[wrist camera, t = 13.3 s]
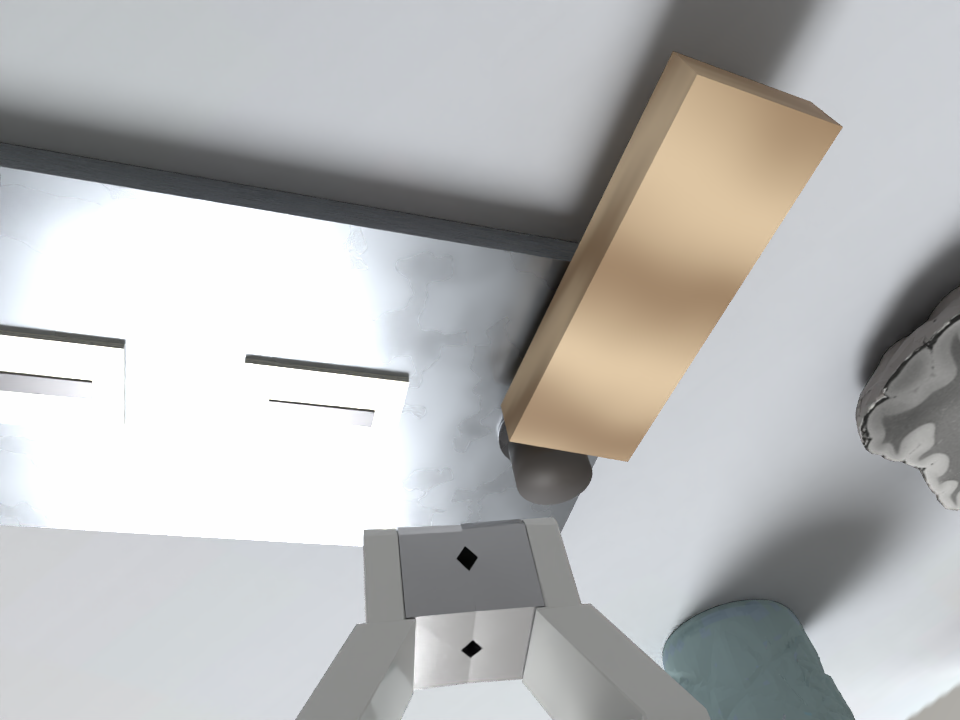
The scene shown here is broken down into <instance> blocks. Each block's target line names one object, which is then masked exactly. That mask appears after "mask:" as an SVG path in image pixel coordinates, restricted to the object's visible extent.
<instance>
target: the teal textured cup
mask: <svg viewBox="0 0 960 720" xmlns="http://www.w3.org/2000/svg"><path fill="white" fill-rule="evenodd" d="M663 665H664V669H665V672H666V673H667V674H669V675H670V676H671V677H672V678H673V679H674V680H675V681H676V682H677V683H678V684H680V685H681V686H682V687H683V688H684V689H685V690H686V691H687V692H688V693H689V694H691V695H692V696H693V697H694V698H695V699H696V700H697V701H698V702H699V703H700V704H702V705H703V706H704V707H705V708H706V709H707V712H708V714H709V717H710V719H711V720H855V718H854V716H853V714H852V712H851V710H850V708H849V707H848V705H847V704H846V702H845V700H844V699H843V697H842V695H841V693H840V692H839V691H838V689H837V687H836V685H835V683H834V681H833V680H832V678H831V676H829V675H827V674H825V673H824V670H823V667H822V664H821V662H820V658H819V657H818V654H817V652H816V650H815V648H814V646H813V645H812V643H811V641H810V640H809V638H808V636H807V634H806V633H805V631H804V629H803V627H802V626H801V624H800V622H799V620H798V619H797V617H796V616H795V615H794V614H793V613H792V611H791V610H790V609H788V608H787V607H785V606H784V605H782V604H780V603H777V602H774V601H768V600H743V601H736V602H732V603H728V604H724V605H720V606H717V607H714V608H712V609H709V610H707V611H705V612H702V613H700V614H698V615H696V616H695V617H693V618H691V619H689V620H688V621H687V622H685V623H684V624H682V625H681V626H680V627H679V628H677V629H676V630H675V631H674V632H673V634H672V635H671V636H670V637H669V639H668V640H667V642H666V644H665V646H664V649H663Z"/></svg>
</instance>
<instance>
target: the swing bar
mask: <svg viewBox="0 0 960 720" xmlns="http://www.w3.org/2000/svg"><path fill="white" fill-rule="evenodd" d="M841 129H842V126H841V125H840V124H838V123H837V122H836V121H835V120H833V119H832V118H831V117H829V116H828V115H827V114H826V113H824V112H823V111H822V110H820V109H819V108H818V107H817V106H815V105H814V104H813V103H812V102H810V101H807V100H804V99H802V98H799V97H796V96H793V95H791V94H788V93H785V92H783V91H780V90H777V89H774V88H772V87H769V86H766V85H764V84H761V83H758V82H755V81H753V80H750V79H747V78H744V77H742V76H739V75H736V74H734V73H731V72H728V71H725V70H723V69H720V68H717V67H715V66H712V65H709V64H706V63H704V62H701V61H698V60H696V59H693V58H690V57H687V56H685V55H682V54H679V53H677V52H674V51H673V52H672V54H671V56H670V58H669V61H668V63H667V65H666V67H665V69H664V71H663V73H662V75H661V77H660V79H659V81H658V83H657V85H656V87H655V89H654V91H653V93H652V95H651V98H650V100H649V102H648V104H647V106H646V108H645V110H644V112H643V114H642V116H641V118H640V120H639V122H638V124H637V126H636V128H635V130H634V132H633V135H632V137H631V139H630V141H629V143H628V145H627V147H626V149H625V151H624V153H623V155H622V157H621V159H620V161H619V163H618V165H617V167H616V169H615V172H614V174H613V176H612V178H611V180H610V182H609V184H608V186H607V188H606V190H605V192H604V194H603V196H602V198H601V200H600V202H599V204H598V206H597V209H596V211H595V213H594V215H593V217H592V219H591V221H590V223H589V225H588V227H587V229H586V231H585V233H584V235H583V237H582V239H581V241H580V243H579V246H578V248H577V250H576V252H575V254H574V256H573V258H572V260H571V262H570V264H569V266H568V268H567V270H566V272H565V274H564V276H563V278H562V280H561V283H560V285H559V287H558V289H557V291H556V293H555V295H554V297H553V299H552V301H551V303H550V305H549V307H548V309H547V311H546V313H545V315H544V317H543V320H542V322H541V324H540V326H539V328H538V330H537V332H536V334H535V336H534V338H533V340H532V342H531V344H530V346H529V348H528V350H527V352H526V354H525V357H524V359H523V361H522V363H521V365H520V367H519V369H518V371H517V373H516V375H515V377H514V379H513V381H512V383H511V385H510V387H509V389H508V391H507V393H506V396H505V398H504V400H503V402H502V404H501V409H502V413H503V417H504V421H505V425H506V430H507V434H508V438H509V442H508V452H509V456H510V461H511V465H512V469H513V474H514V478H515V482H516V486H517V490H518V492H519V494H520V495H521V496H522V497H523V498H524V499H526V500H527V501H529V502H532V503H535V504H539V505H554V504H559V503H563V502H566V501H568V500H571V499H573V498H574V497H576V496H578V495H579V494H580V493H582V492H583V491H584V490H585V489H586V487H587V486H588V485H589V483H590V481H591V478H592V467H591V464H590V461H589V458H588V455H592V456H597V457H603V458H609V459H615V460H621V461H627V462H628V461H629V459H630V458H631V456H632V454H633V453H634V451H635V450H636V448H637V447H638V445H639V443H640V442H641V440H642V439H643V437H644V436H645V434H646V433H647V431H648V429H649V428H650V426H651V425H652V423H653V422H654V420H655V419H656V417H657V415H658V414H659V412H660V411H661V409H662V408H663V406H664V405H665V403H666V401H667V400H668V398H669V397H670V395H671V394H672V392H673V391H674V389H675V387H676V386H677V384H678V383H679V381H680V380H681V378H682V377H683V375H684V373H685V372H686V370H687V369H688V367H689V366H690V364H691V363H692V361H693V359H694V358H695V356H696V355H697V353H698V352H699V350H700V348H701V347H702V345H703V344H704V342H705V341H706V339H707V338H708V336H709V334H710V333H711V331H712V330H713V328H714V327H715V325H716V324H717V322H718V320H719V319H720V317H721V316H722V314H723V313H724V311H725V310H726V308H727V306H728V305H729V303H730V302H731V300H732V299H733V297H734V296H735V294H736V292H737V291H738V289H739V288H740V286H741V285H742V283H743V282H744V280H745V278H746V277H747V275H748V274H749V272H750V271H751V269H752V268H753V266H754V264H755V263H756V261H757V260H758V258H759V257H760V255H761V253H762V252H763V250H764V249H765V247H766V246H767V244H768V243H769V241H770V239H771V238H772V236H773V235H774V233H775V232H776V230H777V229H778V227H779V225H780V224H781V222H782V221H783V219H784V218H785V216H786V215H787V213H788V211H789V210H790V208H791V207H792V205H793V204H794V202H795V201H796V199H797V197H798V196H799V194H800V193H801V191H802V190H803V188H804V187H805V185H806V183H807V182H808V180H809V179H810V177H811V176H812V174H813V173H814V171H815V169H816V168H817V166H818V165H819V163H820V162H821V160H822V158H823V157H824V155H825V154H826V152H827V151H828V149H829V148H830V146H831V144H832V143H833V141H834V140H835V138H836V137H837V135H838V134H839V132H840V130H841Z"/></svg>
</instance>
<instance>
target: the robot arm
mask: <svg viewBox="0 0 960 720" xmlns="http://www.w3.org/2000/svg"><path fill="white" fill-rule="evenodd" d="M363 557H364V595H365V623H360V624H356V626H355V627H354V629H353V631H352V632H351V634H350V635H349V637H348V638H347V640H346V641H345V643H344V645H343V646H342V648H341V649H340V651H339V652H338V654H337V655H336V657H335V659H334V660H333V662H332V663H331V665H330V666H329V668H328V670H327V671H326V673H325V674H324V676H323V677H322V679H321V680H320V682H319V684H318V685H317V687H316V688H315V690H314V691H313V693H312V695H311V696H310V698H309V699H308V701H307V702H306V704H305V705H304V707H303V709H302V710H301V712H300V713H299V715H298V716H297V718H296V720H401V719H402V717H403V714H404V712H405V710H406V708H407V706H408V704H409V702H410V700H411V698H412V695H413V690H418V689H426V688H433V687H441V686H449V685H457V684H464V683H476V682H490V681H503V680H517V679H523V680H522V682H523V684H524V685H525V686H526V687H527V689H528V690H529V691H530V692H531V693H532V695H533V696H534V697H535V698H536V700H537V701H538V702H539V703H540V705H541V706H542V707H543V708H544V710H545V711H546V712H547V713H548V714H549V716H550V717H551V718H552V719H553V720H711V719H710V717H709V714H708V712H707V709H706V708H705V707H704V706H703V705H702V704H700V703H699V702H698V701H697V700H696V699H695V698H694V697H693V696H692V695H691V694H689V693H688V692H687V691H686V690H685V689H684V688H683V687H682V686H681V685H680V684H678V683H677V682H676V681H675V680H674V679H673V678H672V677H671V676H670V675H669V674H667V673H666V672H665V671H664V670H663V669H662V668H661V667H660V666H659V665H658V664H656V663H655V662H654V661H653V660H652V659H651V658H650V657H649V656H648V655H647V654H646V653H644V652H643V651H642V650H641V649H640V648H639V647H638V646H637V645H636V644H635V643H633V642H632V641H631V640H630V639H629V638H628V637H627V636H626V635H625V634H624V633H622V632H621V631H620V630H619V629H618V628H617V627H616V626H615V625H614V624H613V623H611V622H610V621H609V620H608V619H607V618H606V617H605V616H604V615H603V614H602V613H600V612H599V611H598V610H597V609H596V608H595V607H594V606H593V605H592V604H581V601H580V597H579V594H578V591H577V587H576V584H575V581H574V577H573V574H572V570H571V567H570V564H569V560H568V557H567V554H566V550H565V547H564V544H563V540H562V537H561V533H560V530H559V527H558V523H557V521H556V520H555V519H554V518H553V517H549V518H534V519H522V520H520V519H512V520H500V521H487V522H475V523H463V524H459V525H445V526H422V527H398V528H397V530H396V528H383V529H364V531H363Z"/></svg>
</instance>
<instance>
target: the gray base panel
mask: <svg viewBox="0 0 960 720" xmlns="http://www.w3.org/2000/svg"><path fill="white" fill-rule="evenodd" d="M578 246H579V243H574V242H568V241H563V240H557V239H551V238H545V237H540V236H534V235H528V234H522V233H517V232H511V231H505V230H499V229H494V228H488V227H482V226H477V225H471V224H465V223H459V222H454V221H448V220H442V219H436V218H431V217H425V216H419V215H413V214H408V213H402V212H396V211H390V210H385V209H379V208H373V207H367V206H362V205H356V204H350V203H344V202H339V201H333V200H327V199H321V198H316V197H310V196H304V195H299V194H293V193H287V192H281V191H276V190H270V189H264V188H258V187H253V186H247V185H241V184H235V183H230V182H224V181H218V180H212V179H207V178H201V177H195V176H189V175H184V174H178V173H172V172H166V171H161V170H155V169H149V168H144V167H138V166H132V165H126V164H121V163H115V162H109V161H103V160H98V159H92V158H86V157H80V156H75V155H69V154H63V153H57V152H52V151H46V150H40V149H34V148H29V147H23V146H17V145H11V144H6V143H0V525H6V526H23V527H41V528H58V529H75V530H92V531H109V532H126V533H143V534H160V535H177V536H194V537H211V538H229V539H246V540H263V541H280V542H297V543H314V544H331V545H348V546H363V531H364V529H383V528H396V530H397V528H398V527H422V526H445V525H459V524H463V523H475V522H487V521H500V520H512V519H520V520H522V519H534V518H549V517H553V518H554V519H555V520H556V521H557V523H558V527H559V530H560V533H561V531H562V529H563V527H564V525H565V523H566V521H567V519H568V517H569V515H570V513H571V511H572V509H573V507H574V504H575V502H576V500H577V498H578V496H579V495H578V496H576V497H574V498H573V499H571V500H568V501H566V502H563V503H559V504H554V505H539V504H535V503H532V502H529V501H527V500H526V499H524V498H523V497H522V496H521V495H520V494H519V492H518V490H517V486H516V482H515V478H514V474H513V469H512V465H511V461H510V456H509V452H508V442H509V438H508V434H507V430H506V425H505V421H504V417H503V413H502V409H501V404H502V402H503V400H504V398H505V396H506V393H507V391H508V389H509V387H510V385H511V383H512V381H513V379H514V377H515V375H516V373H517V371H518V369H519V367H520V365H521V363H522V361H523V359H524V357H525V354H526V352H527V350H528V348H529V346H530V344H531V342H532V340H533V338H534V336H535V334H536V332H537V330H538V328H539V326H540V324H541V322H542V320H543V317H544V315H545V313H546V311H547V309H548V307H549V305H550V303H551V301H552V299H553V297H554V295H555V293H556V291H557V289H558V287H559V285H560V283H561V280H562V278H563V276H564V274H565V272H566V270H567V268H568V266H569V264H570V262H571V260H572V258H573V256H574V254H575V252H576V250H577V248H578ZM588 458H589V461H590V464H591V467H592V468H593V465H594V463H595V461H596V459H597V456H592V455H588Z"/></svg>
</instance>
